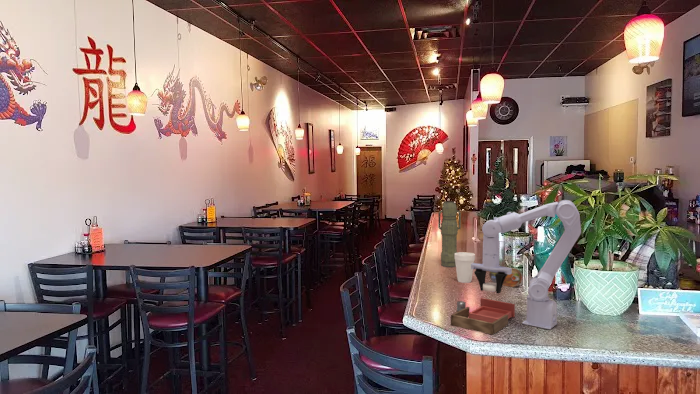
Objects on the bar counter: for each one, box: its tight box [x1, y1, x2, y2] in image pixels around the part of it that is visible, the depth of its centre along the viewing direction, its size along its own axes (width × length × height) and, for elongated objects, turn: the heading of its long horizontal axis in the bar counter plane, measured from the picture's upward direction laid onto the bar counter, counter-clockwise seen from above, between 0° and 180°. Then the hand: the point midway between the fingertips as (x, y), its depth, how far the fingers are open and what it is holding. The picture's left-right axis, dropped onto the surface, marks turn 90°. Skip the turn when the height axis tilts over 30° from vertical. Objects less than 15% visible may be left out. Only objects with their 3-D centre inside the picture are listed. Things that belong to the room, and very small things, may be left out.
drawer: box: [468, 297, 516, 323], centre depth 173 cm, size 13×12×5 cm
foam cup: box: [455, 251, 476, 284], centre depth 228 cm, size 10×9×13 cm
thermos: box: [437, 201, 462, 268], centre depth 263 cm, size 9×12×35 cm
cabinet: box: [450, 306, 509, 335], centre depth 166 cm, size 15×12×4 cm
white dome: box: [483, 281, 496, 293], centre depth 172 cm, size 5×5×2 cm
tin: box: [488, 266, 523, 288], centre depth 221 cm, size 15×3×8 cm, turn 45°
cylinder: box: [456, 300, 467, 312], centre depth 182 cm, size 3×3×4 cm
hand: (490, 291), depth 173 cm, fingers closed on white dome, 5 cm apart
